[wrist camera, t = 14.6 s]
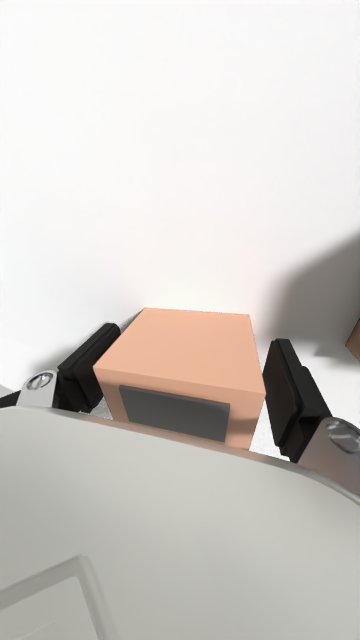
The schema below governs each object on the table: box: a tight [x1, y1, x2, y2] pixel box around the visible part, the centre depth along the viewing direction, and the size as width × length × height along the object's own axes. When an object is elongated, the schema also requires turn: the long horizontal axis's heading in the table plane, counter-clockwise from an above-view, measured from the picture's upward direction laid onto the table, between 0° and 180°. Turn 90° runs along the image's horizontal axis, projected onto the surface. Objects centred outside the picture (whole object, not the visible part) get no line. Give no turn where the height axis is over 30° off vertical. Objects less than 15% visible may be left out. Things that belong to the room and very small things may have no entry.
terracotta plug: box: [93, 308, 266, 451], centre depth 10 cm, size 4×6×6 cm, turn 92°
